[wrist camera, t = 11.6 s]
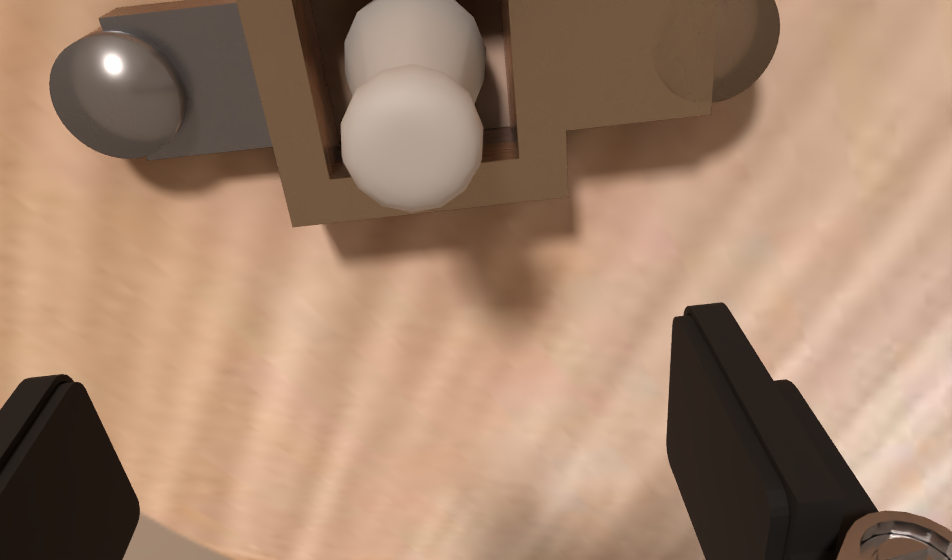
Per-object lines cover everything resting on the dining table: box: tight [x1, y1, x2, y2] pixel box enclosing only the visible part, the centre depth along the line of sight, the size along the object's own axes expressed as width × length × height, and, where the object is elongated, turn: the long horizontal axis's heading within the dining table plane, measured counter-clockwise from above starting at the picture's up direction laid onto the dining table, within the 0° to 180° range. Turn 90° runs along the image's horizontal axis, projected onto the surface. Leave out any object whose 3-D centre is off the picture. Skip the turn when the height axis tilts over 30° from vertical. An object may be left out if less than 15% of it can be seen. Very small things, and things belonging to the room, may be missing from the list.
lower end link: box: [49, 0, 515, 162], centre depth 31 cm, size 20×12×3 cm, turn 95°
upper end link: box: [236, 0, 780, 227], centre depth 31 cm, size 20×12×4 cm, turn 95°
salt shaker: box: [341, 0, 486, 212], centre depth 27 cm, size 6×6×13 cm
